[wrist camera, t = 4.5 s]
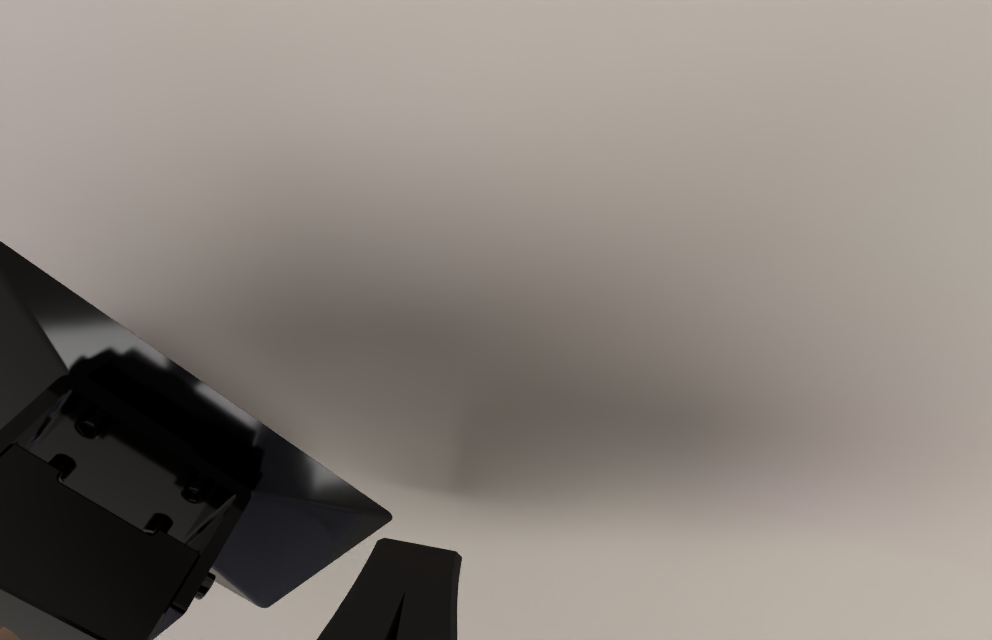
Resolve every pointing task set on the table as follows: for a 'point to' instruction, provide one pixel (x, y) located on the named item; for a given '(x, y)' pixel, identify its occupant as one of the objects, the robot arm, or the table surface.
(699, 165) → the table surface
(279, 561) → the black bevelled base
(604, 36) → the table surface
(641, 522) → the table surface
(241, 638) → the table surface
